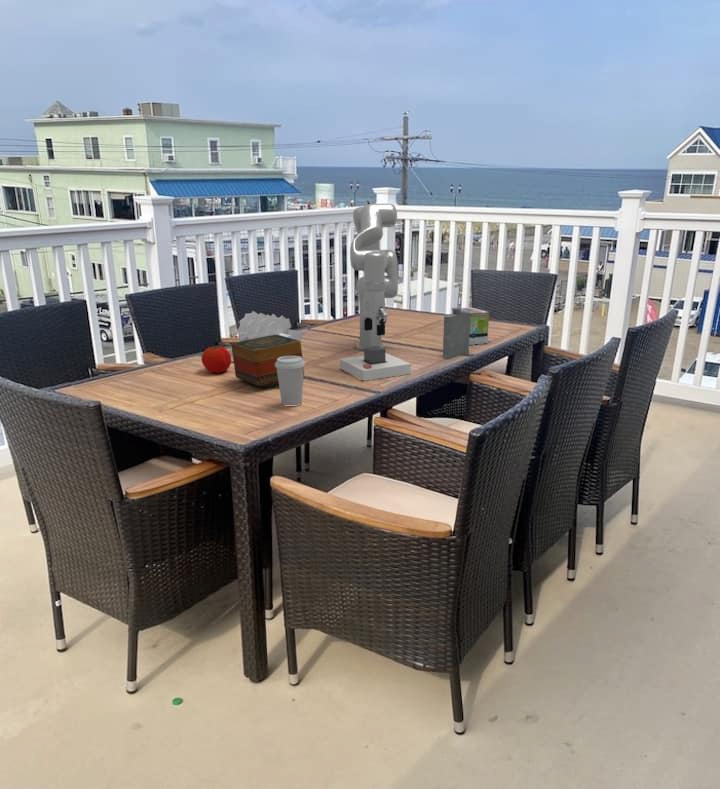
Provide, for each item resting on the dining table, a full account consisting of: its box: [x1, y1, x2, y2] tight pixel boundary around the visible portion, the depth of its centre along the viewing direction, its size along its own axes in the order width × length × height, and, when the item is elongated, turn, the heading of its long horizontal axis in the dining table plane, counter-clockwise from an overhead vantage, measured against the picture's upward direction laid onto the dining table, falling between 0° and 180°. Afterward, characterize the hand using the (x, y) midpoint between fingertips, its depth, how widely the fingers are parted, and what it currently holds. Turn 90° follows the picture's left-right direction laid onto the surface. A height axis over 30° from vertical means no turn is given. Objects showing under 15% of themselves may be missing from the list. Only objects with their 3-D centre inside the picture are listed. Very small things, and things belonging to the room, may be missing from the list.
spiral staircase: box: [236, 310, 304, 343], centre depth 258 cm, size 18×18×25 cm
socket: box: [339, 352, 412, 381], centre depth 232 cm, size 20×20×5 cm
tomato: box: [201, 345, 232, 374], centre depth 234 cm, size 11×13×10 cm
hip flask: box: [442, 307, 470, 360], centre depth 253 cm, size 16×4×20 cm, turn 136°
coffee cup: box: [275, 356, 306, 405], centre depth 195 cm, size 10×10×15 cm
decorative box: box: [230, 335, 305, 388], centre depth 219 cm, size 20×22×16 cm
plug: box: [363, 346, 386, 365], centre depth 231 cm, size 6×6×8 cm
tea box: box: [460, 306, 490, 346], centre depth 278 cm, size 15×10×15 cm
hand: (374, 332), depth 229 cm, fingers open, 9 cm apart
